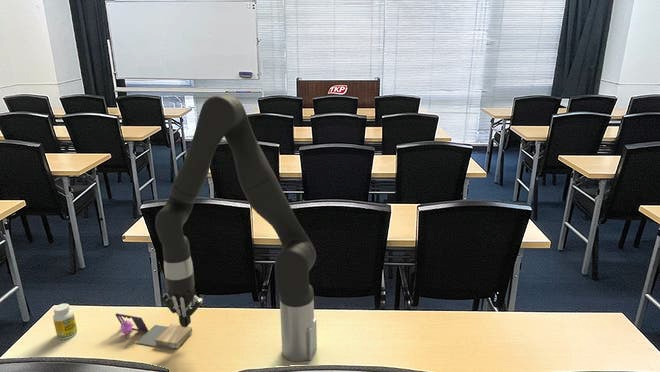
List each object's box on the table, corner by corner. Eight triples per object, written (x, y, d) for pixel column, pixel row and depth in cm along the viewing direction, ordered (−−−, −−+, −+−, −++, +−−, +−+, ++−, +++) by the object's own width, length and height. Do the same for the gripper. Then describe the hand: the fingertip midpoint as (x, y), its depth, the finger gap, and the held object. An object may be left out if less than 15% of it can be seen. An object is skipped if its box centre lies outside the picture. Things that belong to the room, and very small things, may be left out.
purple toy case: (142, 315, 134) (117, 311, 136) (132, 330, 130) (106, 325, 132) (150, 329, 138) (125, 324, 140) (140, 344, 134) (115, 339, 136)
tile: (191, 327, 136) (171, 323, 137) (176, 343, 128) (155, 339, 130) (192, 332, 136) (172, 328, 138) (177, 348, 129) (156, 344, 131)
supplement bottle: (67, 327, 139) (62, 300, 136) (81, 330, 138) (76, 303, 135) (52, 338, 134) (46, 310, 131) (67, 341, 133) (60, 313, 130)
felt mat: (189, 331, 137) (189, 330, 137) (172, 350, 129) (172, 349, 129) (155, 325, 140) (155, 324, 140) (136, 343, 132) (136, 342, 132)
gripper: (207, 268, 127) (212, 321, 133) (166, 263, 131) (172, 315, 136) (193, 281, 120) (199, 336, 126) (150, 275, 124) (157, 329, 129)
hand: (185, 325), depth 131 cm, fingers closed
